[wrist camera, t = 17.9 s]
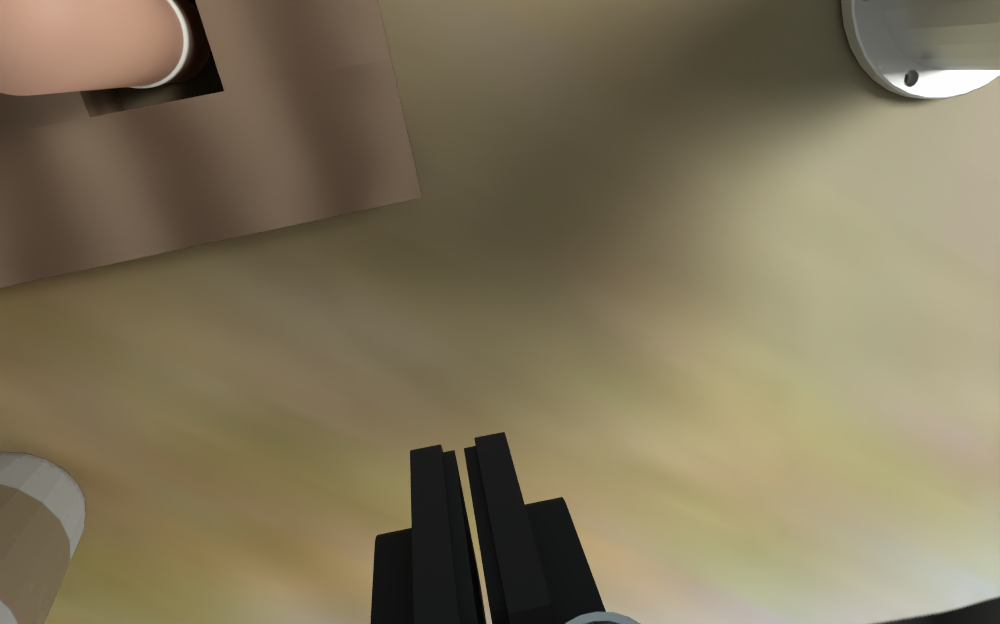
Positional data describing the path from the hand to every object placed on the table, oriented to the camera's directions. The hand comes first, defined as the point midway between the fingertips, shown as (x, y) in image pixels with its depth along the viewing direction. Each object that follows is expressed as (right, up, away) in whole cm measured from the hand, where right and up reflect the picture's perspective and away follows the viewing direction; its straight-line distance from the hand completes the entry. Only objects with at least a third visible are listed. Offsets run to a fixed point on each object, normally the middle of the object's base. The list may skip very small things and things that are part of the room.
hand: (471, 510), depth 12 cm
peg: (-15, +16, +19) cm, 29 cm away
